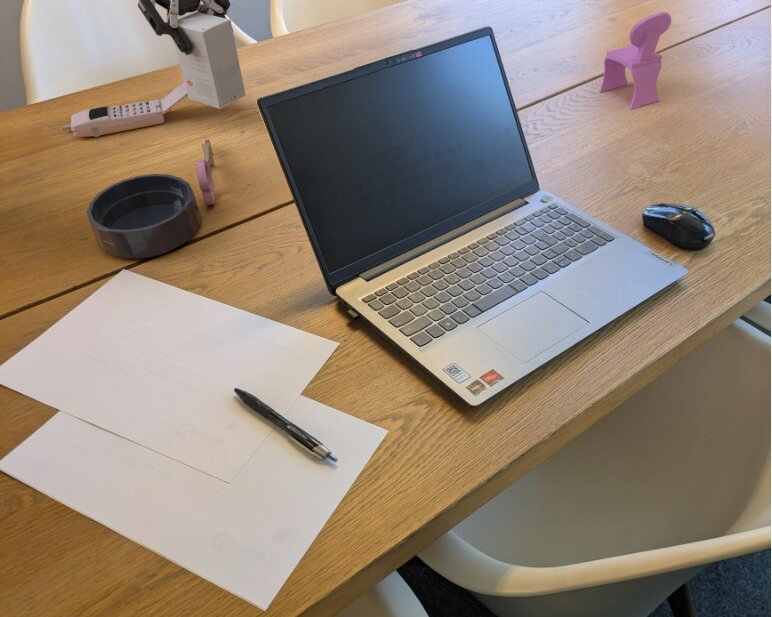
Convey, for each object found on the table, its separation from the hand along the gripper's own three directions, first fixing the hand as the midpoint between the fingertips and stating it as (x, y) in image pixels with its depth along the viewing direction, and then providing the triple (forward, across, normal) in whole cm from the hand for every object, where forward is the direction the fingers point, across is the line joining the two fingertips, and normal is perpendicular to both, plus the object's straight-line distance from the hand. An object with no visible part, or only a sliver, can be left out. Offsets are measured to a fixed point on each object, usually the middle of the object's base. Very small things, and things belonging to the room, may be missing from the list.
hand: (210, 45), depth 108 cm
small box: (+6, 0, +8) cm, 10 cm away
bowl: (+23, -26, -3) cm, 35 cm away
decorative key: (+19, -12, +1) cm, 22 cm away
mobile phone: (+1, -11, +20) cm, 22 cm away
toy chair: (+43, +54, -24) cm, 73 cm away
